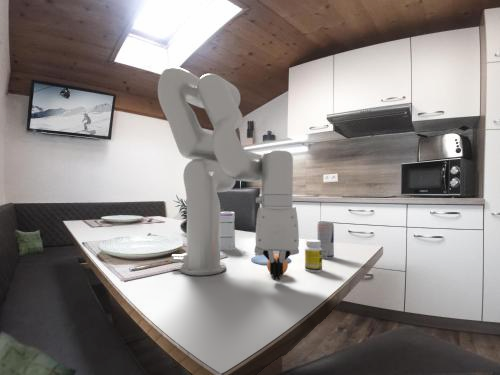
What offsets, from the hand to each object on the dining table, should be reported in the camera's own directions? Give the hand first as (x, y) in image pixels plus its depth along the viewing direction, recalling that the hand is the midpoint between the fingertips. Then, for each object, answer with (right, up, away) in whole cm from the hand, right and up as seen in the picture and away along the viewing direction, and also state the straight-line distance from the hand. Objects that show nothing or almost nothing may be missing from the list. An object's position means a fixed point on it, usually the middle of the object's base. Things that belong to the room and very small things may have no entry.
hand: (276, 277), depth 63 cm
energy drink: (+20, -2, +26) cm, 33 cm away
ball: (+1, +1, +6) cm, 7 cm away
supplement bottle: (+12, -2, +11) cm, 16 cm away
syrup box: (-15, -3, +39) cm, 42 cm away
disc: (0, -2, +22) cm, 22 cm away
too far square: (+1, -2, +34) cm, 34 cm away
